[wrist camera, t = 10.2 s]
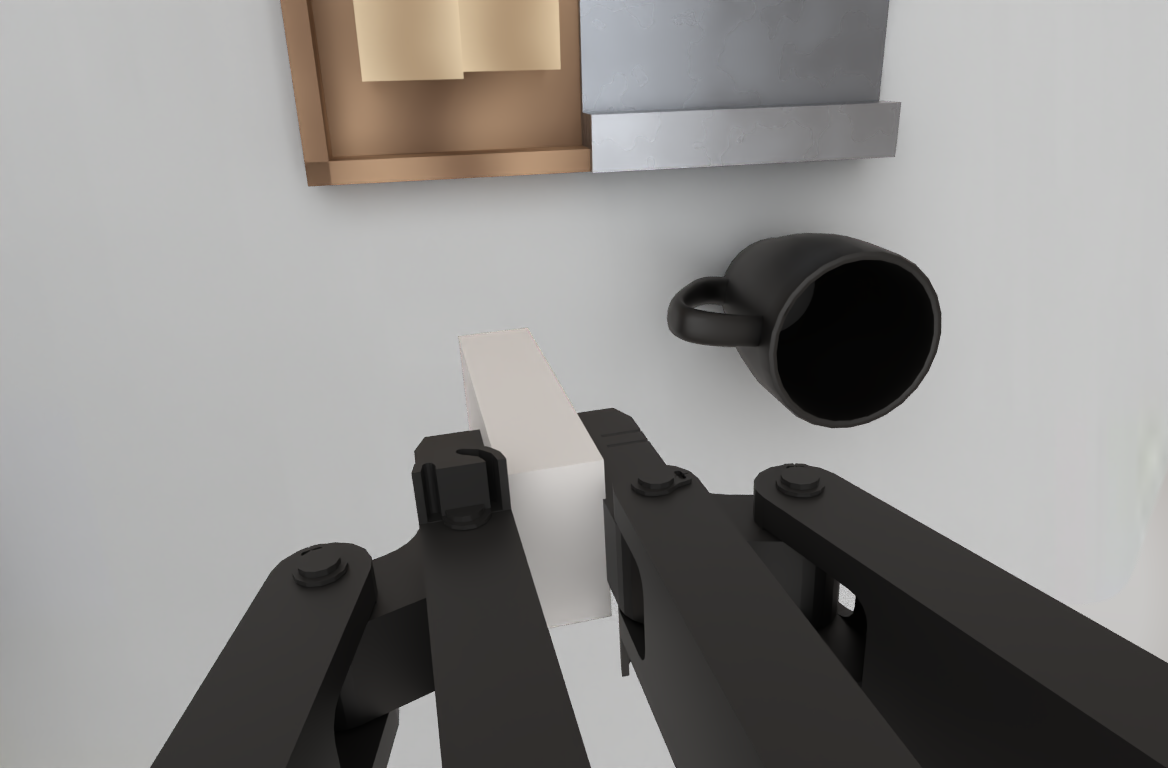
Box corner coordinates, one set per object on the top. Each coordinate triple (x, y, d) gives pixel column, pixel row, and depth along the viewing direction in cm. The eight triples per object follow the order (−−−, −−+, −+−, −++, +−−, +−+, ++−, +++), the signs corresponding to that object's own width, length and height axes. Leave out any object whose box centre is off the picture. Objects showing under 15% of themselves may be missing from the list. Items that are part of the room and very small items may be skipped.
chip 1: (367, 79, 36) (362, 81, 32) (355, -22, 34) (349, -32, 31) (458, 77, 37) (463, 78, 33) (451, -22, 35) (455, -32, 32)
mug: (645, 191, 41) (708, 226, 32) (857, 223, 44) (968, 262, 35) (616, 345, 44) (667, 416, 35) (817, 366, 46) (911, 436, 38)
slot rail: (580, 165, 40) (592, 172, 37) (572, -120, 35) (586, -135, 33) (863, 150, 42) (894, 156, 40) (889, -117, 38) (927, -131, 35)
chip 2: (457, 71, 37) (463, 72, 33) (450, -29, 35) (455, -40, 31) (545, 68, 37) (560, 69, 34) (542, -29, 36) (557, -40, 32)
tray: (314, 179, 38) (308, 186, 35) (270, -123, 33) (259, -136, 31) (580, 165, 40) (590, 171, 37) (572, -120, 35) (583, -133, 33)
